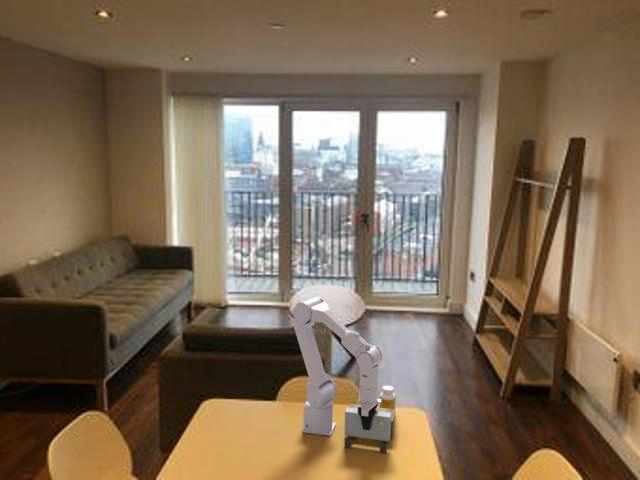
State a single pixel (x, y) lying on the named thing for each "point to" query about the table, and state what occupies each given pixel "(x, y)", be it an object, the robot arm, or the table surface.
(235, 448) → the table surface
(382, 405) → the supplement bottle
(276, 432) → the table surface
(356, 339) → the robot arm
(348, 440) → the cabinet
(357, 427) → the door panel
